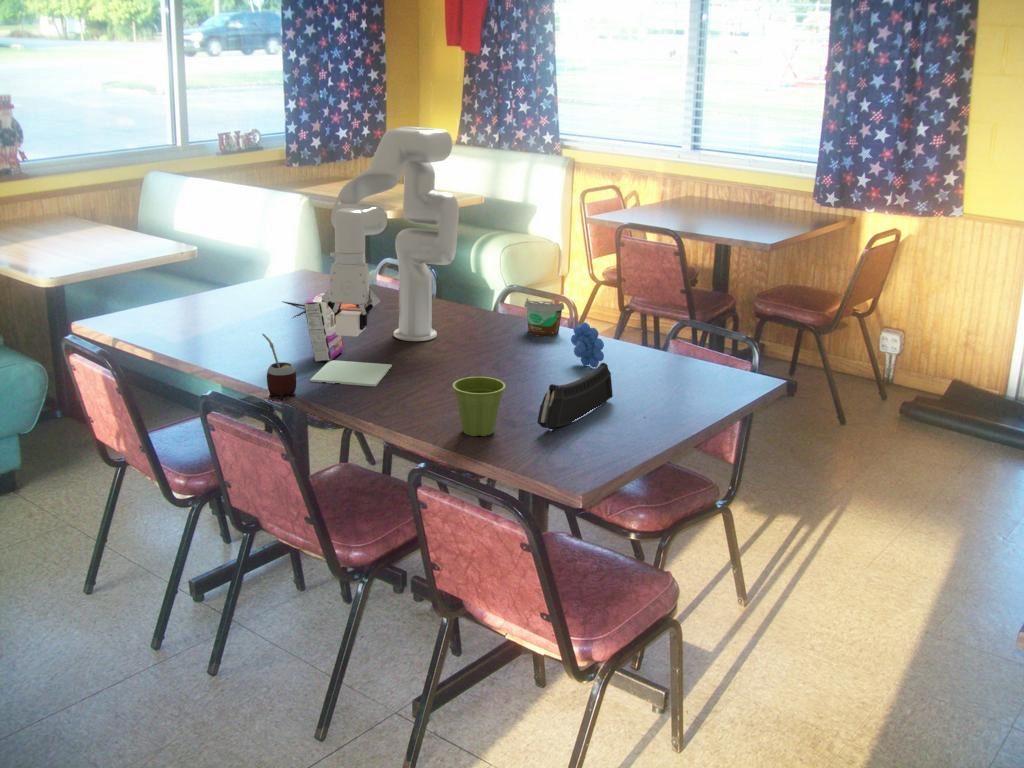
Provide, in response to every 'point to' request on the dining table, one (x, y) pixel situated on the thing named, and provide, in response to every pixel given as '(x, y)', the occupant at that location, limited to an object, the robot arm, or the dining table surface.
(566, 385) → the magazine
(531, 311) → the food container
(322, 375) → the mat
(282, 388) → the mate gourd
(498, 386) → the plant pot
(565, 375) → the dining table surface
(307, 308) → the candy bar box
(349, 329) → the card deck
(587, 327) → the grapes
